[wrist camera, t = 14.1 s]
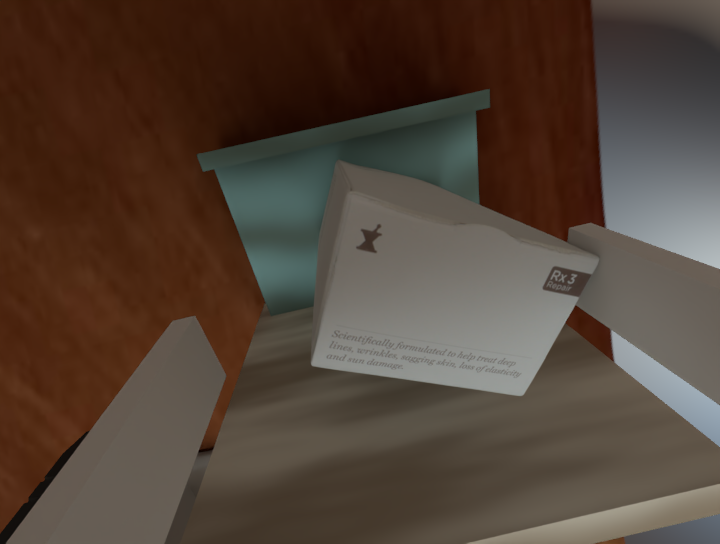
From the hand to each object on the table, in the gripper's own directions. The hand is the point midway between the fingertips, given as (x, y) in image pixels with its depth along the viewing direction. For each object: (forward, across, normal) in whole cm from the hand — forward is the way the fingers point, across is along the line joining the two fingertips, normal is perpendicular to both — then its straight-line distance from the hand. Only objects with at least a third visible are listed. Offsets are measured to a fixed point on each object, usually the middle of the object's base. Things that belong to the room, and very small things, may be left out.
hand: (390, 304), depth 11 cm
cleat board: (+16, 0, -1) cm, 16 cm away
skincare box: (+13, +2, 0) cm, 13 cm away
